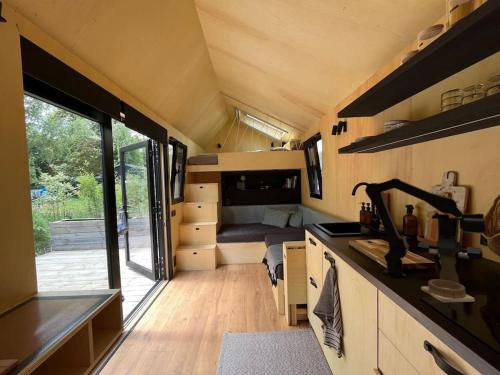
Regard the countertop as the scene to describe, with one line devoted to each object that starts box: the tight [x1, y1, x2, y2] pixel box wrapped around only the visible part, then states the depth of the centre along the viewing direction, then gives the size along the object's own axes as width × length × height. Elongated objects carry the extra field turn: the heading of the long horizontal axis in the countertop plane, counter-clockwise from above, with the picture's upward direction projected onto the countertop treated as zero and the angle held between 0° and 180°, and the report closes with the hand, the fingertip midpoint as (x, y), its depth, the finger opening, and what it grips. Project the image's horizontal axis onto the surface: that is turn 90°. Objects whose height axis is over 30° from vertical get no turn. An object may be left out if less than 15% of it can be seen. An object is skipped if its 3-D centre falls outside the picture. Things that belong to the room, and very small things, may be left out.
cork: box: [438, 255, 460, 284], centre depth 93 cm, size 6×6×11 cm
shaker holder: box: [420, 278, 475, 303], centre depth 84 cm, size 10×10×4 cm
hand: (448, 272), depth 93 cm, fingers closed on cork, 4 cm apart
